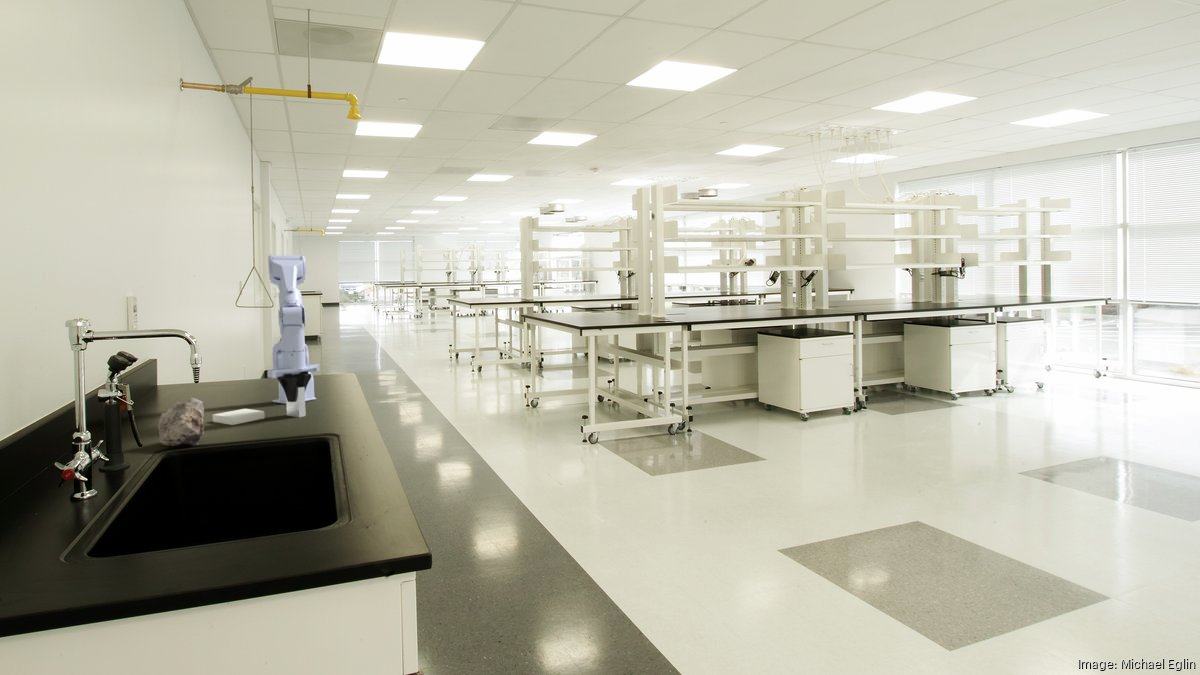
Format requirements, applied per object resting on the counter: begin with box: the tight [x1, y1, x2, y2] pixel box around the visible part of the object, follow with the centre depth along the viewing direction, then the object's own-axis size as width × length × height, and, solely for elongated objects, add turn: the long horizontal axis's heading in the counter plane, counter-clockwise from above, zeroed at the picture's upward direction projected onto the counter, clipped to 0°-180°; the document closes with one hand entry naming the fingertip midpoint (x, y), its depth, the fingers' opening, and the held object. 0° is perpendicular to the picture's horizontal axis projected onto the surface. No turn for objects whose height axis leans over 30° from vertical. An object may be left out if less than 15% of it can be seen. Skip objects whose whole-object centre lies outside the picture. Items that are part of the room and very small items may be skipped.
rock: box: [157, 397, 205, 447], centre depth 146 cm, size 9×12×10 cm
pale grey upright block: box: [286, 386, 307, 418], centre depth 176 cm, size 2×5×8 cm, turn 63°
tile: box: [212, 408, 266, 426], centre depth 170 cm, size 2×8×9 cm
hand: (295, 400), depth 176 cm, fingers closed on pale grey upright block, 2 cm apart
